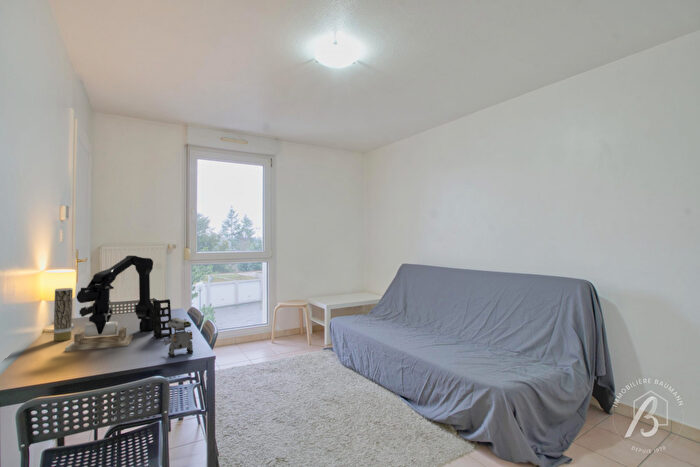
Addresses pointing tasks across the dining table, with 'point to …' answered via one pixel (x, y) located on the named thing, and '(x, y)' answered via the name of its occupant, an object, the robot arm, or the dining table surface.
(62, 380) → the dining table surface
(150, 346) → the dining table surface
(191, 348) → the figurine
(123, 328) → the roll cradle
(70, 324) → the bark textured pillar
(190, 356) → the dining table surface
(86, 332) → the paper roll
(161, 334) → the holder
